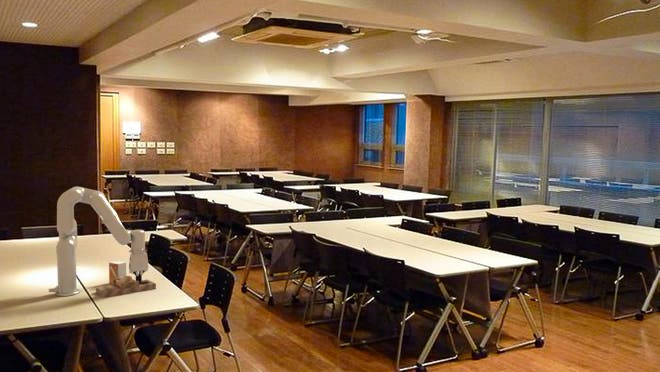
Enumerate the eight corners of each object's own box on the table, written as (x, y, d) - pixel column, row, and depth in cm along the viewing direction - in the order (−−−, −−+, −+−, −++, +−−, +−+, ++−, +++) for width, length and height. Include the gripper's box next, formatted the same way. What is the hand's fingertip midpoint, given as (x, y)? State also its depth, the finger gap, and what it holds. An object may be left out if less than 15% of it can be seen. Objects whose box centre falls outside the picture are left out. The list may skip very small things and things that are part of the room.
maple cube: (123, 287, 322) (123, 278, 322) (120, 285, 326) (120, 276, 325) (132, 285, 325) (132, 277, 325) (128, 283, 329) (128, 275, 329)
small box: (109, 283, 341) (108, 262, 340) (117, 281, 346) (117, 260, 345) (118, 285, 337) (117, 264, 336) (126, 283, 342) (126, 262, 341)
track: (103, 297, 311) (103, 286, 311) (95, 292, 321) (95, 282, 321) (156, 288, 330) (155, 278, 330) (147, 284, 340) (146, 274, 340)
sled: (121, 287, 319) (121, 283, 319) (115, 284, 326) (115, 280, 326) (136, 285, 325) (136, 281, 325) (130, 282, 331) (130, 278, 331)
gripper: (127, 253, 321) (128, 285, 322) (153, 250, 331) (153, 281, 332) (123, 251, 327) (123, 282, 328) (148, 248, 336) (148, 279, 338)
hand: (138, 282), depth 330 cm, fingers closed
